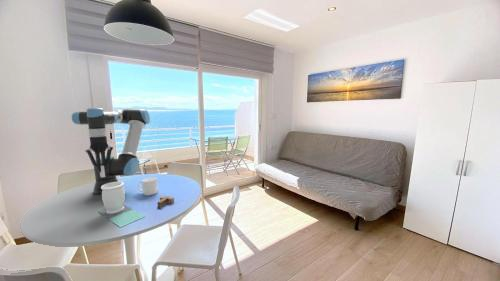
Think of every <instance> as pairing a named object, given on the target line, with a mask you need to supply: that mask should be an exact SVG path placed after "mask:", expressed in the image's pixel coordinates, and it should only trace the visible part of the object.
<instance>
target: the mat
mask: <svg viewBox="0 0 500 281" xmlns="http://www.w3.org/2000/svg"><path fill="white" fill-rule="evenodd" d="M123 206H124V209H123V210H122V211H120V212H118V213H114V214H108V213H106V211H107V209H106V208H105V209H103V210H100V211H99V210H98V213H99V214H100V215H102V217H105V218H106V219H107V220H109V221H110V222H111V223H113V224H114V225H116V226H117V227H119V228H122V227H125V226H128V225H130V224H132V223H134V222H137V221H139V220H141V219H144V218H146V216H145V215H143V214H141V213H140V212H138V211H136V210H135V209H133V208H131V207H129V206H127V205H125V204H124V205H123Z"/></svg>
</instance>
